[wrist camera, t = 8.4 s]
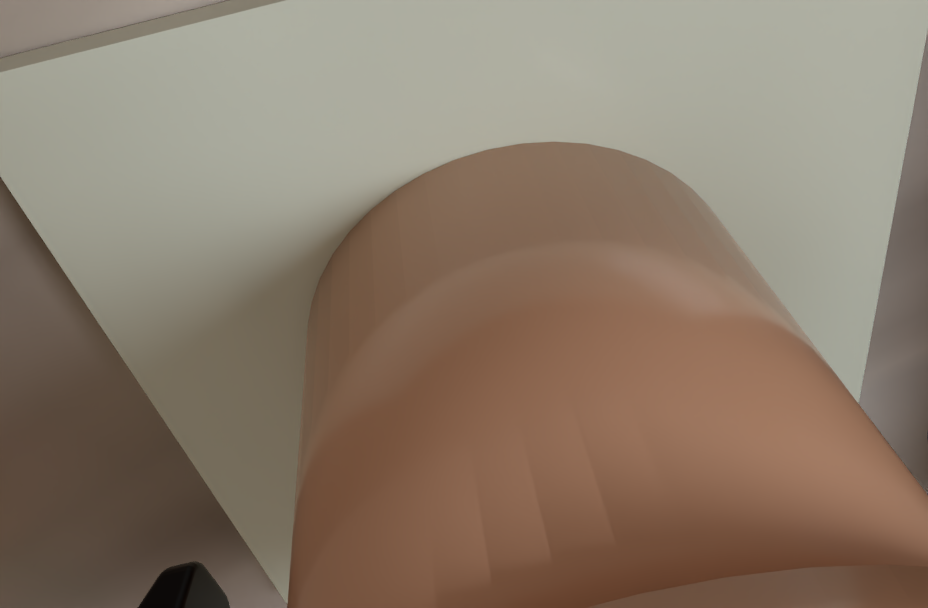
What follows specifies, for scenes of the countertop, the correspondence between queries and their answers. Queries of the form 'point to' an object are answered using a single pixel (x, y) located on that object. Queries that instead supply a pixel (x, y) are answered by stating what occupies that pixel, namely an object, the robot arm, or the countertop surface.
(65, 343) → the countertop surface
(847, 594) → the terracotta pot
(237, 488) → the sage tile
